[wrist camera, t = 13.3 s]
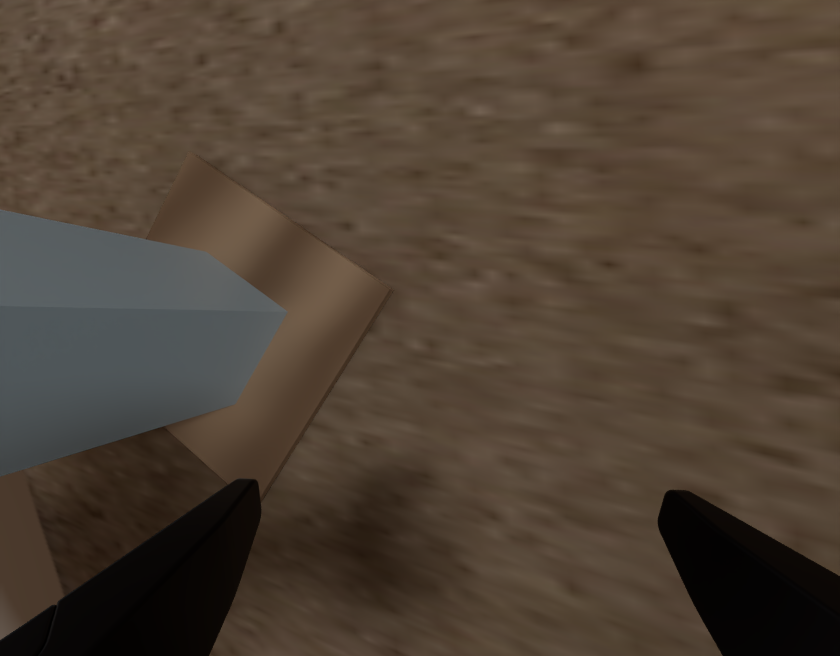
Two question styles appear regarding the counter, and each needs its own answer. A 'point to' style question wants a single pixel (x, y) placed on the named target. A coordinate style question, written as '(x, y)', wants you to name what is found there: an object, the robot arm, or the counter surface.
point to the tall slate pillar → (115, 337)
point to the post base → (296, 336)
